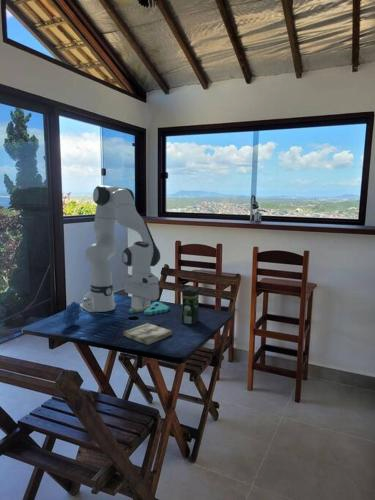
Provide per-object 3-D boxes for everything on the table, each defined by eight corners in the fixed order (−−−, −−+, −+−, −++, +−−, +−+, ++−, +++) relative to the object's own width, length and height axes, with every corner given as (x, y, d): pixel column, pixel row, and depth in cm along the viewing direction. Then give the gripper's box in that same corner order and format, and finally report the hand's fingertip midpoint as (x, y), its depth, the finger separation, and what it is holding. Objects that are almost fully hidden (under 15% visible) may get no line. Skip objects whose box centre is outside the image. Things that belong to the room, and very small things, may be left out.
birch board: (123, 335, 167) (123, 331, 167) (147, 326, 179) (147, 322, 179) (147, 344, 157) (147, 340, 157) (171, 334, 169) (171, 330, 169)
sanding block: (131, 309, 167) (131, 296, 166) (143, 305, 173) (143, 293, 173) (137, 311, 164) (138, 298, 164) (150, 307, 171) (150, 295, 170)
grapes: (74, 320, 186) (73, 298, 184) (84, 322, 183) (83, 300, 181) (57, 327, 176) (56, 303, 174) (67, 330, 173) (66, 305, 171)
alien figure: (128, 314, 200) (163, 317, 196) (128, 310, 200) (163, 313, 196) (140, 304, 220) (172, 306, 216) (140, 300, 219) (172, 303, 216)
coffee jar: (186, 318, 194) (187, 284, 191) (200, 320, 191) (201, 286, 188) (178, 323, 185) (179, 288, 183) (192, 326, 182) (193, 290, 179)
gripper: (121, 274, 171) (121, 302, 173) (151, 281, 158) (151, 311, 160) (131, 272, 176) (130, 299, 178) (161, 279, 163) (160, 308, 165)
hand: (140, 305), depth 169 cm, fingers closed on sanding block, 4 cm apart
